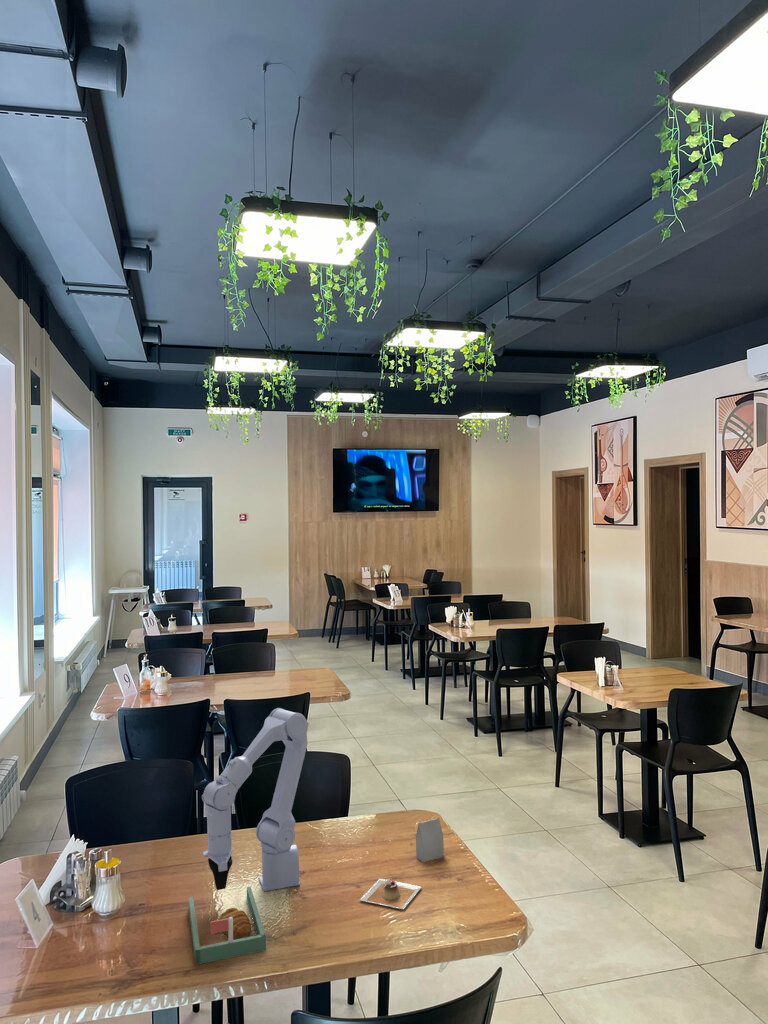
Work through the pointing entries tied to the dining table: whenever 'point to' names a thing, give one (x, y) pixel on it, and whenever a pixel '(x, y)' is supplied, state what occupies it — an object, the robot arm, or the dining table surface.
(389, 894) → the dessert
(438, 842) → the grey tall block
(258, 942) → the putting corral
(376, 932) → the dining table surface
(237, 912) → the pastry
